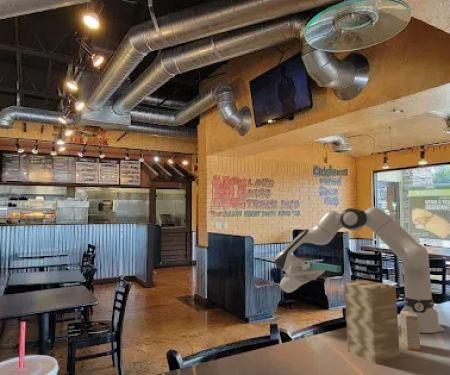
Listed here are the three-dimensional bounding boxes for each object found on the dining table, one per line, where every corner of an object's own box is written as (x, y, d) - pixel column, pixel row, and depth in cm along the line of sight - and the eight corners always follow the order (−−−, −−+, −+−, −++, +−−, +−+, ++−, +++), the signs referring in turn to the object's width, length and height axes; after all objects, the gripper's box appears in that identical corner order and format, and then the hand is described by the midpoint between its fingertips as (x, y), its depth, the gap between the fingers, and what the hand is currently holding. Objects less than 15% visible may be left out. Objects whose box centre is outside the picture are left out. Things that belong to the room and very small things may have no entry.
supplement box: (421, 350, 140) (418, 316, 142) (407, 350, 141) (405, 315, 143) (414, 343, 148) (412, 310, 150) (402, 343, 149) (399, 310, 151)
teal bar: (307, 266, 174) (307, 261, 175) (311, 266, 175) (311, 261, 176) (336, 272, 155) (336, 266, 155) (341, 271, 156) (340, 266, 156)
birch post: (348, 351, 141) (344, 281, 144) (371, 346, 146) (367, 278, 149) (375, 363, 129) (371, 286, 131) (400, 357, 133) (395, 283, 136)
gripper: (280, 270, 180) (293, 259, 170) (313, 268, 188) (328, 256, 178) (283, 282, 177) (297, 271, 166) (317, 279, 185) (332, 268, 174)
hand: (313, 263), depth 172 cm, fingers closed on teal bar, 2 cm apart
